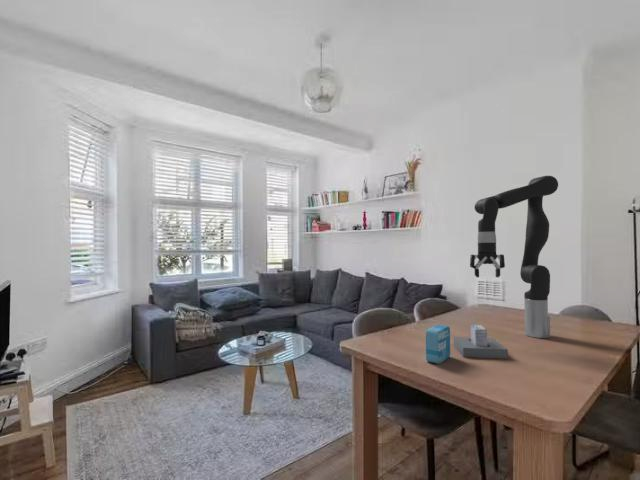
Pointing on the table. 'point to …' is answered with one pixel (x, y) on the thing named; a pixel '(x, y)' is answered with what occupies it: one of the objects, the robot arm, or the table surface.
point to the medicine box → (478, 335)
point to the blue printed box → (437, 344)
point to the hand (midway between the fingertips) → (487, 277)
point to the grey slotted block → (480, 348)
